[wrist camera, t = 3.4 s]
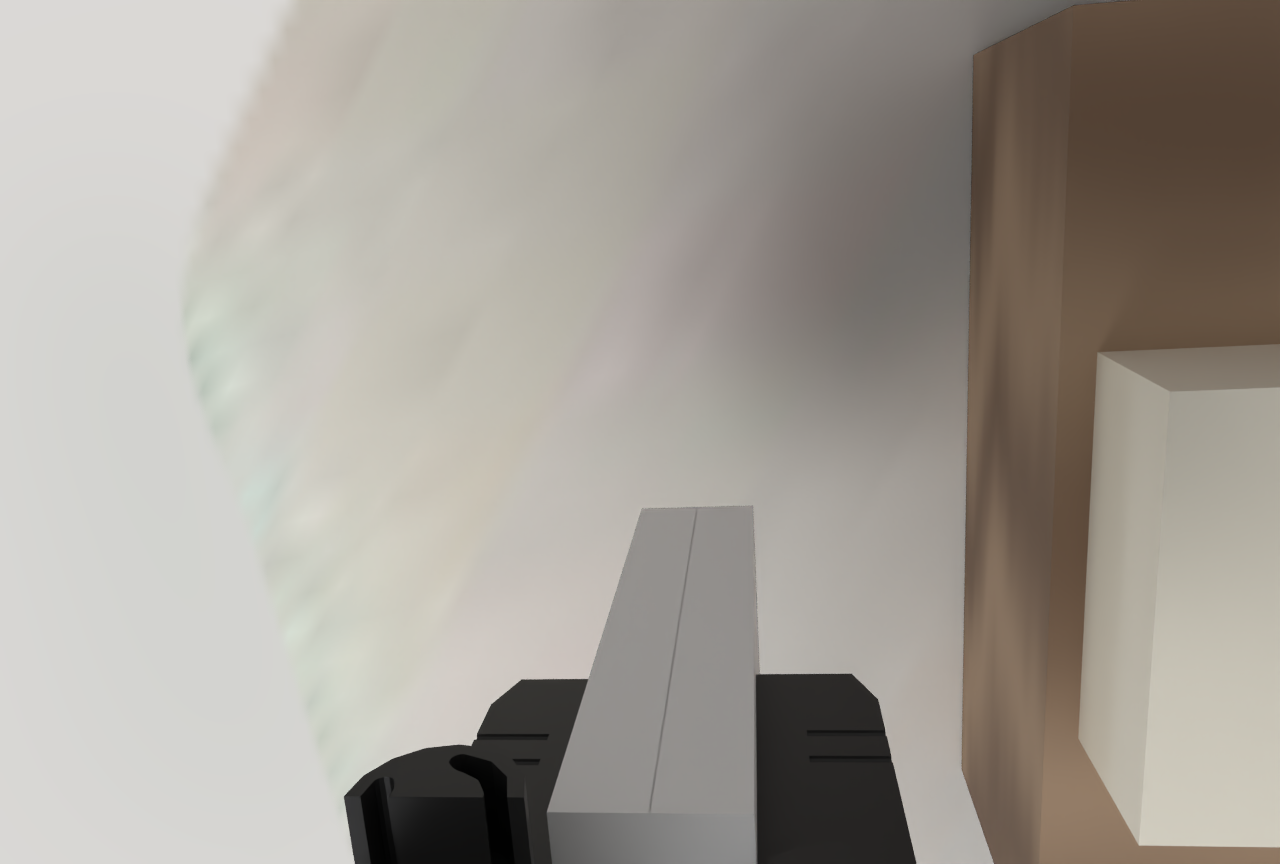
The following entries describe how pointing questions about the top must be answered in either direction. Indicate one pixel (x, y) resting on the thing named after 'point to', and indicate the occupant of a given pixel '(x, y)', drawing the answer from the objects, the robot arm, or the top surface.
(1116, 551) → the cream tile
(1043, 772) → the brown wooden block
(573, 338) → the top surface
